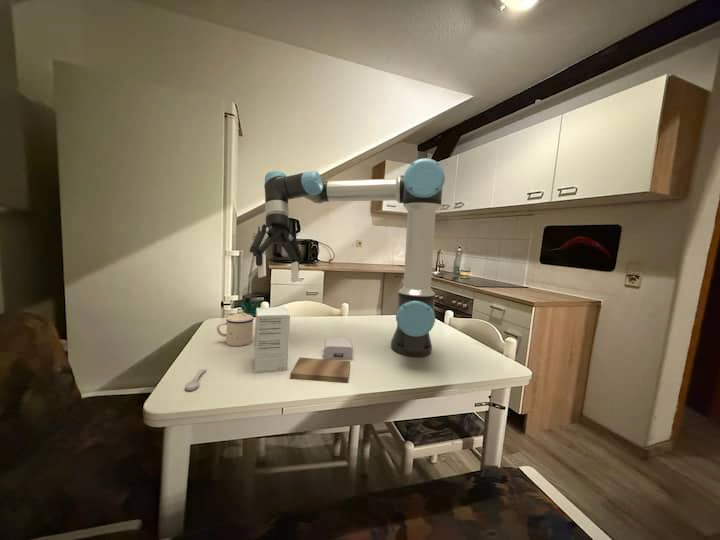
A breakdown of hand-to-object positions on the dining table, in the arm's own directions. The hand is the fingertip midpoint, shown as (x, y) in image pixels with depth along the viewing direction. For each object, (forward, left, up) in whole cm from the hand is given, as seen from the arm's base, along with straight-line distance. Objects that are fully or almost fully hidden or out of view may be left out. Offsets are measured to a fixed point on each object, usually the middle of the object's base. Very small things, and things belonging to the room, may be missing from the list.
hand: (279, 279), depth 92 cm
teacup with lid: (+18, -9, -26) cm, 33 cm away
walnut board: (-16, +9, -25) cm, 31 cm away
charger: (-19, -8, -26) cm, 33 cm away
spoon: (+15, +19, -26) cm, 35 cm away
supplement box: (0, +7, -26) cm, 26 cm away
